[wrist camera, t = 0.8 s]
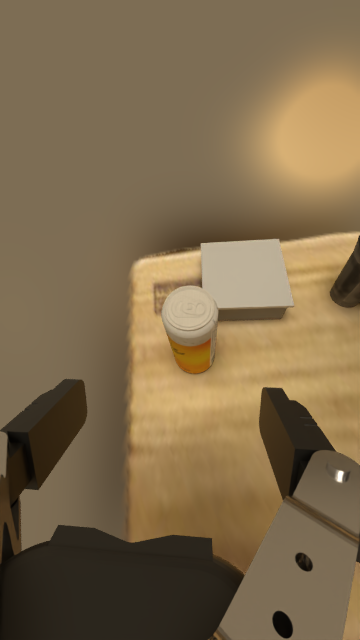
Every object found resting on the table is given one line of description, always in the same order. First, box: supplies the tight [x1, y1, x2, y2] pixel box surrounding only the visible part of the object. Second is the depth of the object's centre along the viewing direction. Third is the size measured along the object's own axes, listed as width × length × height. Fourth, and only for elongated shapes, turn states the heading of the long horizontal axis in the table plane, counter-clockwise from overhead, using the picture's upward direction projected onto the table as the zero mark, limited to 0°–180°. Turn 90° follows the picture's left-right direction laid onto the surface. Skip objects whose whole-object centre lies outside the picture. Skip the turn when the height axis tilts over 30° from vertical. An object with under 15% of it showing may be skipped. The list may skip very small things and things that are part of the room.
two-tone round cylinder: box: [161, 286, 218, 373], centre depth 32 cm, size 6×6×15 cm
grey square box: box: [201, 239, 294, 321], centre depth 41 cm, size 13×13×5 cm
